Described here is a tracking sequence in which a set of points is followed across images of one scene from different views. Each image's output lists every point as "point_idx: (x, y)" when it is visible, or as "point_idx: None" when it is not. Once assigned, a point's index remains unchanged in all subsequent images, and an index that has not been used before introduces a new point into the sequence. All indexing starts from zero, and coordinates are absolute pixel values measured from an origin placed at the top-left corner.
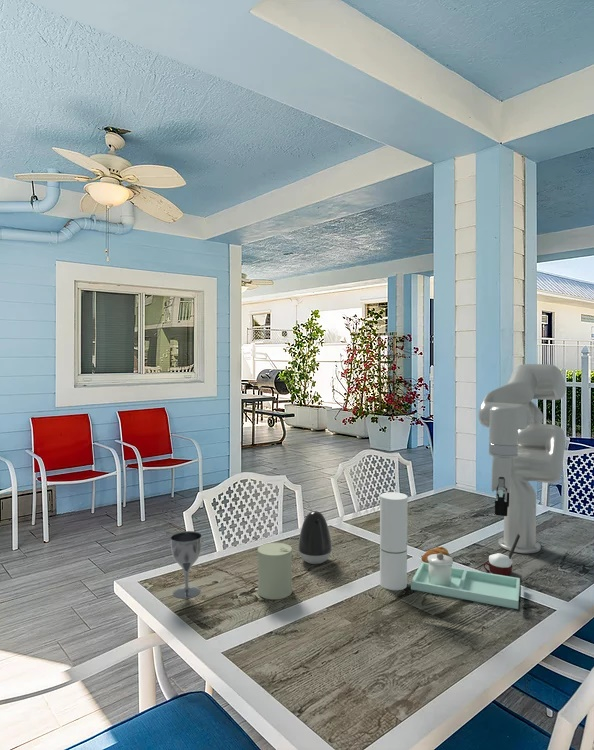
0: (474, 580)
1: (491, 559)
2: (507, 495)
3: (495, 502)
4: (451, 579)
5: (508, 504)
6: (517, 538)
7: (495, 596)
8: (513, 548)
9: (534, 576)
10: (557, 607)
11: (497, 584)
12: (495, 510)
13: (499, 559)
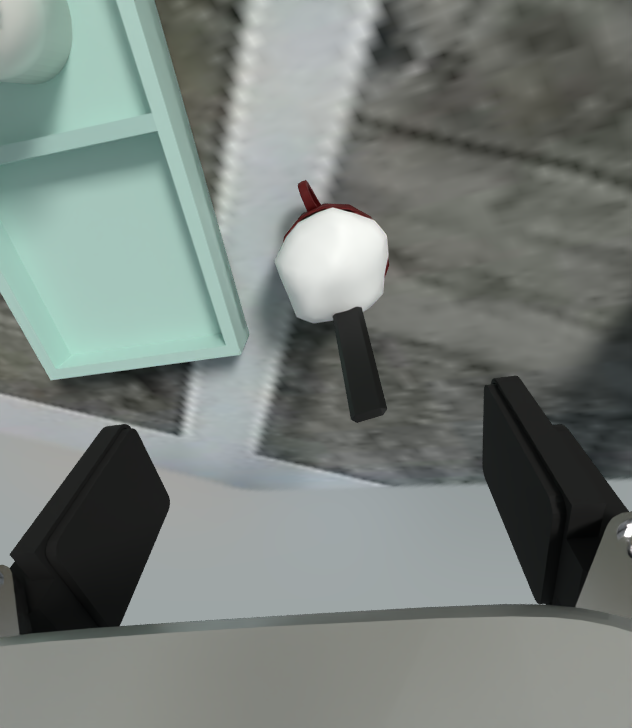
0: (168, 172)
1: (292, 234)
2: (528, 576)
3: (32, 533)
4: (27, 80)
5: (490, 489)
6: (350, 402)
7: (15, 312)
8: (341, 354)
9: (398, 358)
10: (198, 437)
11: (198, 270)
12: (86, 458)
13: (284, 280)
